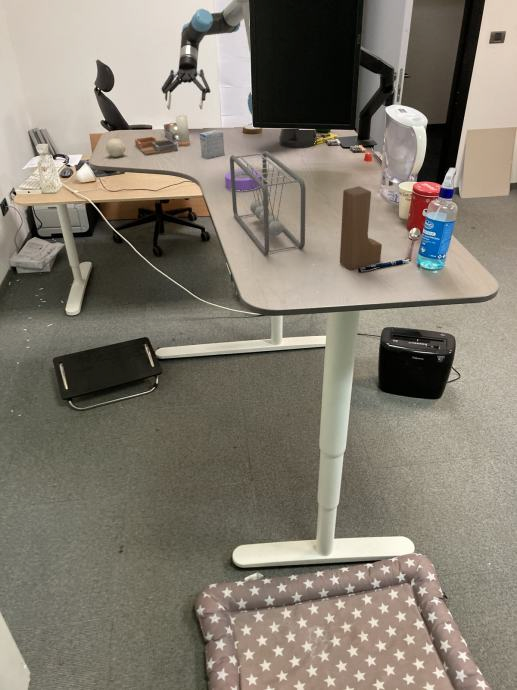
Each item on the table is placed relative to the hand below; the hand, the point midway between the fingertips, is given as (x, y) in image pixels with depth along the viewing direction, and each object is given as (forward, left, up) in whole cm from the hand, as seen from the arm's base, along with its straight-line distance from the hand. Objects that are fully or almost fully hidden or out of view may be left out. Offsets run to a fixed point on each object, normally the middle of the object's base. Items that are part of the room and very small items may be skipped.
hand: (184, 107), depth 223 cm
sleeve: (-8, +4, -13) cm, 15 cm away
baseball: (-10, +32, -13) cm, 36 cm away
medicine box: (-29, -1, -13) cm, 32 cm away
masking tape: (-67, +2, -13) cm, 68 cm away
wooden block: (-133, -1, -13) cm, 133 cm away
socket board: (-6, +15, -13) cm, 21 cm away
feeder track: (+5, +4, -13) cm, 14 cm away
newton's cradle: (-106, +11, -13) cm, 107 cm away
